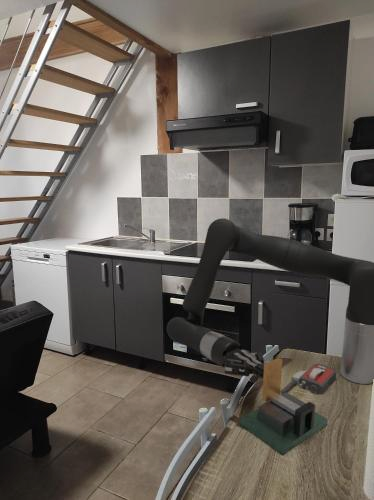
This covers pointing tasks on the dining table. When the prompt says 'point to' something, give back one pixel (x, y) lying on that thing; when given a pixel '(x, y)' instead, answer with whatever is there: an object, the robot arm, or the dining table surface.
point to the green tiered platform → (283, 424)
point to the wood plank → (275, 386)
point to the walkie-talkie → (313, 379)
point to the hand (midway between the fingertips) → (270, 375)
